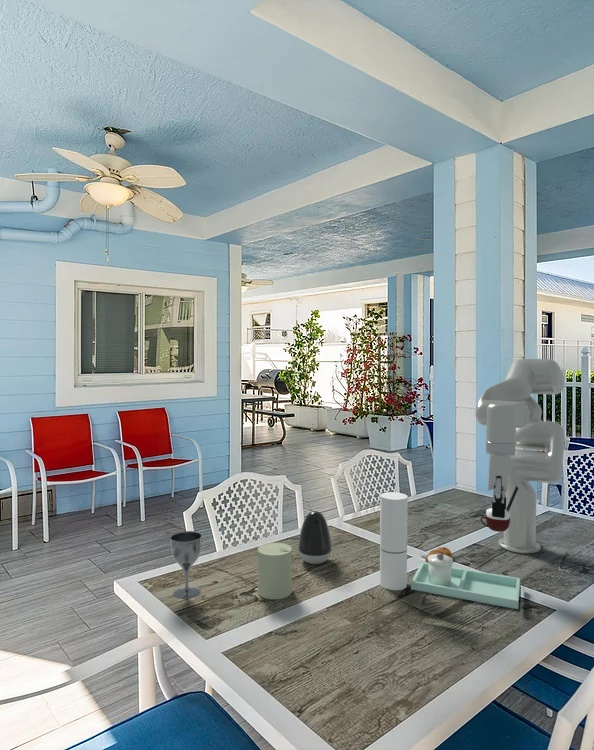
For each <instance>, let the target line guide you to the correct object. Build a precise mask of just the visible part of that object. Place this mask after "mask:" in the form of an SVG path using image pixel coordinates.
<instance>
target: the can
mask: <svg viewBox="0 0 594 750" xmlns="http://www.w3.org/2000/svg"><path fill="white" fill-rule="evenodd" d="M292 550H293V548H292V546H291V545H290V544H286V543H284V542H268V543H264V544H260V545H259V546H258V547H257V591H256V592H257V595H258V596H259V597H261V598H264V599H266V600H283V599H285V598H288V597H289V596H291V594H292V593H293V584H292V583H293V581H292V579H293V578H292V571H293V567H292V566H293V565H292V561H293V559H292V558H293V556H292V553H293V551H292Z"/></svg>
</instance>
